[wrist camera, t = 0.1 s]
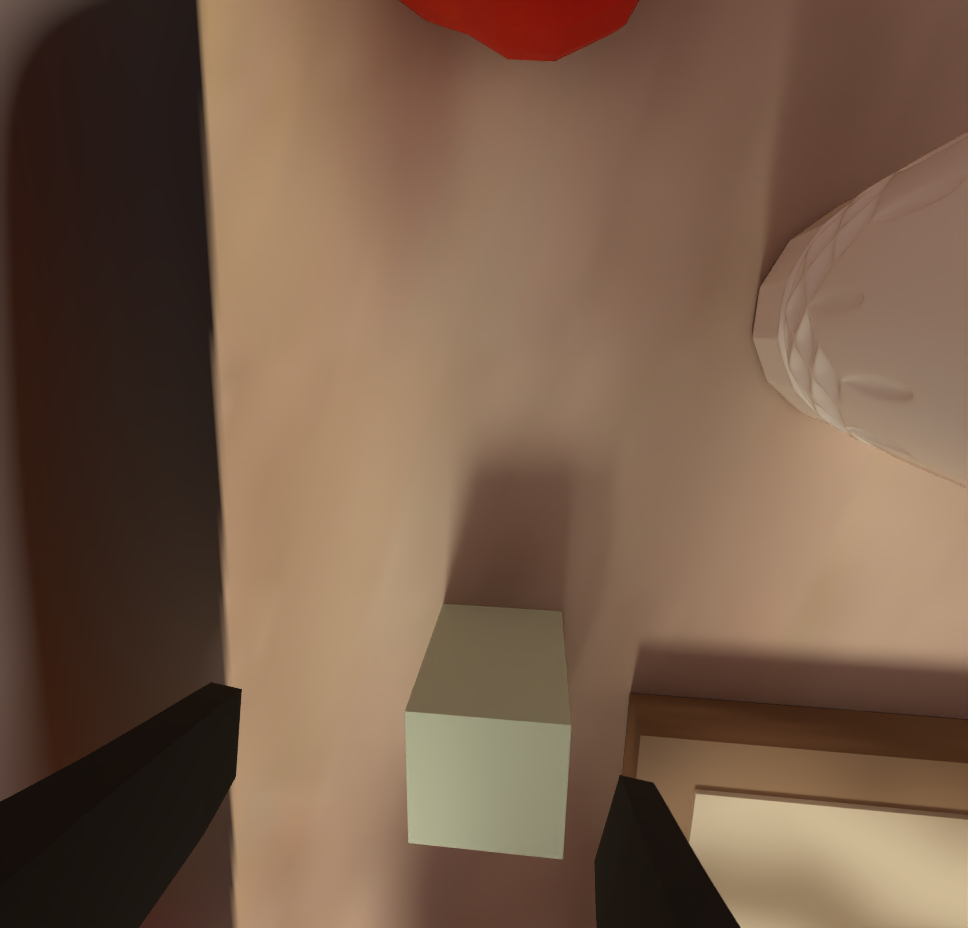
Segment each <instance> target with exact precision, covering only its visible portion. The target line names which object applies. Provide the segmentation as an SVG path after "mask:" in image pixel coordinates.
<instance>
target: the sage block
mask: <svg viewBox="0 0 968 928" xmlns="http://www.w3.org/2000/svg"><path fill="white" fill-rule="evenodd" d="M405 733H406V773H407V814H408V843H413V844H423V845H432V846H441V847H451V848H460V849H469V850H478V851H488V852H497V853H506V854H516V855H525V856H534V857H544V858H553V859H562V860H563V849H564V834H565V818H566V802H567V787H568V771H569V755H570V740H571V714H570V702H569V691H568V679H567V667H566V655H565V643H564V631H563V619H562V611H549V610H534V609H518V608H503V607H488V606H472V605H457V604H443V606H442V608H441V611H440V614H439V617H438V620H437V623H436V625H435V628H434V631H433V634H432V637H431V639H430V642H429V645H428V648H427V651H426V654H425V656H424V659H423V662H422V665H421V668H420V670H419V673H418V676H417V679H416V682H415V685H414V687H413V690H412V693H411V696H410V699H409V701H408V704H407V707H406V710H405Z"/></svg>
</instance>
